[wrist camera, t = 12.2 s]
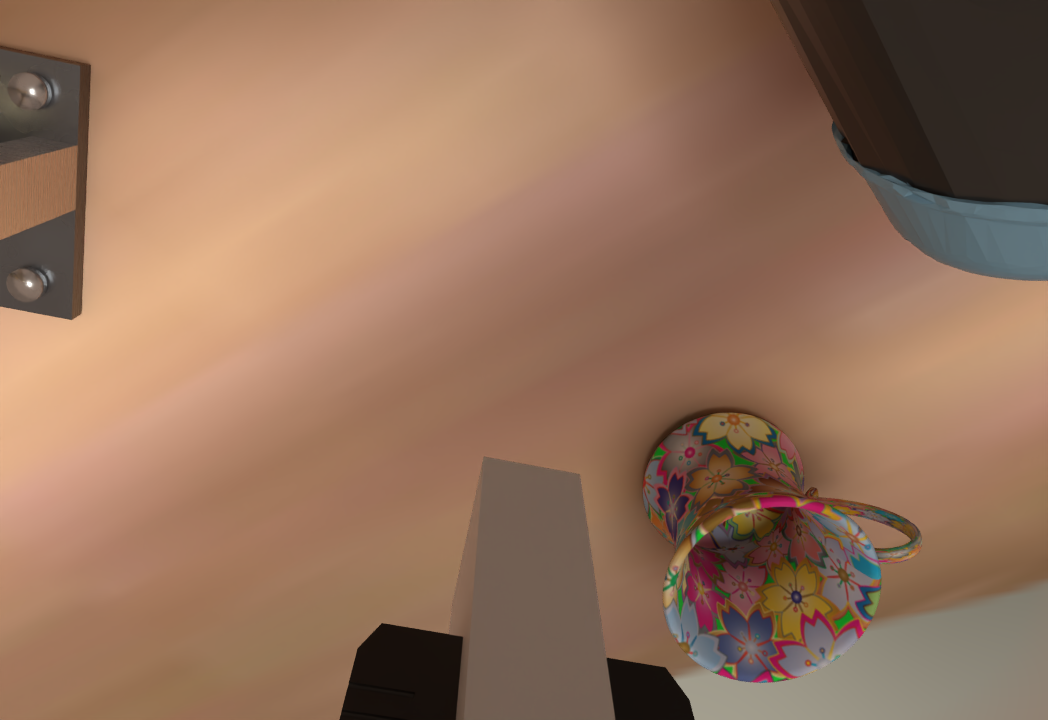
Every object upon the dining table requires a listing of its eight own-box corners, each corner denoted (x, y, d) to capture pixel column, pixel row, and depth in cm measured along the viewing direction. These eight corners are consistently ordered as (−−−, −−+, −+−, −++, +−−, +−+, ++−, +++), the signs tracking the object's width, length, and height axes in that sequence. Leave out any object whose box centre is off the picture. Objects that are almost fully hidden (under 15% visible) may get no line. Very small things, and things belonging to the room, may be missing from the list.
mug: (644, 564, 50) (677, 698, 40) (621, 414, 46) (650, 519, 36) (860, 530, 49) (948, 657, 39) (852, 375, 46) (946, 471, 36)
